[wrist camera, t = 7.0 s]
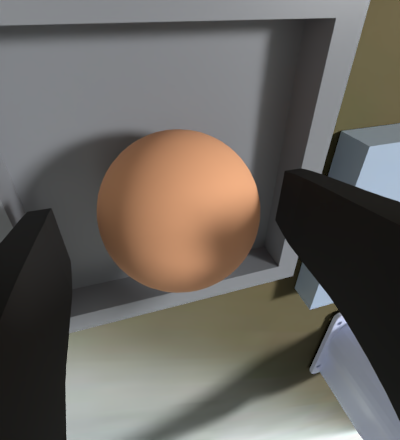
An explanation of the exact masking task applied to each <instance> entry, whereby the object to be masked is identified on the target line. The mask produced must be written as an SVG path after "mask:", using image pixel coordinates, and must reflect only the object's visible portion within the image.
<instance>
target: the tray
mask: <svg viewBox="0 0 400 440" xmlns="http://www.w3.org/2000/svg"><path fill="white" fill-rule="evenodd" d="M369 3H370V0H0V243H1V242H2V240H3V239H4V238H5V237H6V236H7V235H8V233H9V232H10V231H11V230H12V229H13V227H14V226H15V225H16V224H17V223H18V222H19V220H20V219H21V218H22V217H23V216H24V215H25V214H26V213H27V212H29V211H35V210H42V209H48V208H52V211H53V214H54V216H55V219H56V222H57V225H58V227H59V230H60V233H61V236H62V238H63V241H64V244H65V246H66V249H67V252H68V255H69V257H70V260H71V271H72V304H71V316H70V328H69V333H72V332H76V331H80V330H84V329H88V328H92V327H95V326H99V325H103V324H107V323H111V322H115V321H119V320H123V319H127V318H131V317H135V316H139V315H142V314H146V313H150V312H154V311H158V310H162V309H166V308H170V307H174V306H178V305H182V304H185V303H189V302H193V301H197V300H201V299H205V298H209V297H213V296H217V295H221V294H225V293H229V292H232V291H236V290H240V289H244V288H248V287H252V286H256V285H260V284H264V283H268V282H272V281H276V280H279V279H283V278H287V277H291V276H293V274H294V270H295V267H296V263H297V260H298V256H297V254H296V253H295V252H294V251H293V249H292V248H291V247H290V245H289V244H288V242H287V241H286V239H285V237H284V236H283V234H282V232H281V230H280V228H279V226H278V225H277V223H276V221H275V218H276V213H277V208H278V203H279V198H280V193H281V187H282V182H283V177H284V172H285V171H287V170H293V169H299V168H302V169H306V170H310V171H313V172H317V173H320V174H322V171H323V167H324V164H325V160H326V156H327V153H328V149H329V146H330V142H331V139H332V135H333V131H334V128H335V124H336V121H337V117H338V114H339V110H340V107H341V103H342V99H343V96H344V92H345V89H346V85H347V82H348V78H349V74H350V71H351V67H352V64H353V60H354V57H355V53H356V49H357V46H358V42H359V39H360V35H361V32H362V28H363V25H364V21H365V17H366V14H367V10H368V7H369ZM173 129H181V130H192V131H197V132H201V133H204V134H207V135H210V136H212V137H214V138H216V139H218V140H220V141H222V142H223V143H224V144H226V145H227V146H229V147H230V148H231V149H232V150H233V151H235V152H236V154H237V155H238V156H239V157H240V158H241V159H242V160H243V162H244V163H245V164H246V166H247V167H248V169H249V170H250V172H251V174H252V177H253V179H254V181H255V183H256V186H257V190H258V194H259V199H260V223H259V228H258V232H257V236H256V239H255V242H254V244H253V246H252V248H251V250H250V252H249V253H248V255H247V257H246V258H245V260H244V261H243V262H242V263H241V264H240V265H239V267H238V268H237V269H236V270H235V271H234V272H232V273H231V274H230V275H229V276H228V277H226V278H225V279H223V280H222V281H220V282H218V283H216V284H214V285H212V286H210V287H208V288H205V289H201V290H198V291H193V292H181V293H173V292H165V291H160V290H156V289H153V288H150V287H147V286H145V285H143V284H141V283H139V282H137V281H136V280H134V279H133V278H131V277H130V276H128V275H127V274H126V273H125V272H124V271H123V270H122V269H120V268H119V266H118V265H117V264H116V263H115V262H114V261H113V259H112V258H111V256H110V255H109V253H108V252H107V250H106V248H105V246H104V243H103V241H102V238H101V236H100V232H99V228H98V222H97V199H98V193H99V190H100V186H101V183H102V180H103V178H104V176H105V174H106V172H107V170H108V168H109V167H110V165H111V164H112V162H113V161H114V160H115V159H116V158H117V157H118V155H119V154H120V153H121V152H122V151H123V150H125V149H126V148H127V147H128V146H129V145H131V144H132V143H134V142H135V141H137V140H138V139H140V138H143V137H145V136H147V135H149V134H152V133H155V132H159V131H164V130H173Z"/></svg>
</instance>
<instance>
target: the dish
mask: <svg viewBox="0 0 400 440" xmlns="http://www.w3.org/2000/svg"><path fill="white" fill-rule="evenodd" d="M328 177H331V178H334V179H336V180H339V181H342V182H345V183H347V184H350V185H353V186H355V187H358V188H361V189H364V190H366V191H369V192H372V193H375V194H378V195H381V196H383V197H386V198H390V199H393V200H396V201H399V202H400V123H399V124H391V125H383V126H376V127H368V128H360V129H353V130H345V131H341V134H340V137H339V140H338V144H337V147H336V150H335V154H334V157H333V161H332V164H331V167H330V171H329V174H328ZM295 290H296V291H297V292H298V294H299V295H300V297H301V298H302V299H303V301H304V302H305V304H306V305H307V306H308V308H309V309H310V310H311V309H314V308H317V307H321V306H324V305H328V304H331V303H334V302H333V301H332V300H331V298H330V297H329V295H328V294H327V293H326V291H325V290H324V289H323V288H322V286H321V285H320V284H319V283H318V281H317V280H316V279H315V277H314V276H313V275H312V274H311V272H310V271H309V270H308V269H307V267H306V266H305V265H304V264H303V262H302V265H301V269H300V272H299V275H298V279H297V282H296V285H295Z"/></svg>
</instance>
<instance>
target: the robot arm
mask: <svg viewBox="0 0 400 440" xmlns="http://www.w3.org/2000/svg"><path fill="white" fill-rule="evenodd" d="M275 221H276V223H277V225H278V226H279V228H280V230H281V232H282V234H283V236H284V237H285V239H286V241H287V242H288V244H289V245H290V247H291V248H292V249H293V251H294V252H295V253H296V254H297V256H298V257H299V258H300V260H301V261H302V262H303V264H304V265H305V266H306V267H307V269H308V270H309V271H310V272H311V274H312V275H313V276H314V277H315V279H316V280H317V281H318V283H319V284H320V285H321V286H322V288H323V289H324V290H325V291H326V293H327V294H328V295H329V297H330V298H331V300H332V301H333V302H334V304H335V305H336V307H337V308H338V310H339V312H340V313H337V314H336V315H335V316H334V317H333V319H332V321H331V323H330V325H329V328H328V330H327V332H326V334H325V336H324V339H323V341H322V343H321V345H320V347H319V350H318V352H317V354H316V356H315V358H314V360H313V363H312V365H311V367H310V372H311V373H312V374H315V373H318V372H320V373H321V374H322V376H323V377H324V379H325V381H326V382H327V384H328V385H329V387H330V389H331V390H332V392H333V393H334V395H335V397H336V398H337V400H338V401H339V403H340V405H341V406H342V408H343V409H344V411H345V413H346V414H347V416H348V417H349V419H350V421H351V422H352V424H353V425H354V427H355V429H356V430H357V432H358V433H359V434H360V436H361V437H362V438H363V439H364V440H400V202H399V201H396V200H393V199H390V198H386V197H383V196H381V195H378V194H375V193H372V192H369V191H366V190H364V189H361V188H358V187H355V186H353V185H350V184H347V183H345V182H342V181H339V180H336V179H334V178H331V177H328V176H325V175H322V174H320V173H317V172H313V171H310V170H306V169H302V168H299V169H293V170H287V171H285V172H284V177H283V182H282V187H281V193H280V198H279V203H278V208H277V213H276V218H275ZM71 304H72V271H71V260H70V257H69V255H68V252H67V249H66V246H65V244H64V241H63V238H62V236H61V233H60V230H59V227H58V225H57V222H56V219H55V216H54V214H53V211H52V208H48V209H42V210H35V211H29V212H27V213H26V214H25V215H24V216H23V217H22V218H21V219H20V220H19V222H18V223H17V224H16V225H15V226H14V227H13V229H12V230H11V231H10V232H9V233H8V235H7V236H6V237H5V238H4V239H3V240H2V242H1V243H0V440H66V402H65V378H66V361H67V350H68V339H69V328H70V316H71Z"/></svg>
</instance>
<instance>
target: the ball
mask: <svg viewBox="0 0 400 440" xmlns="http://www.w3.org/2000/svg"><path fill="white" fill-rule="evenodd" d="M97 222H98V228H99V232H100V236H101V238H102V241H103V243H104V246H105V248H106V250H107V252H108V253H109V255H110V256H111V258H112V259H113V261H114V262H115V263H116V264H117V265H118V266H119V268H120V269H122V270H123V271H124V272H125V273H126V274H127V275H128V276H130V277H131V278H133V279H134V280H136V281H137V282H139V283H141V284H143V285H145V286H147V287H150V288H153V289H156V290H160V291H165V292H173V293H181V292H193V291H198V290H201V289H205V288H208V287H210V286H212V285H214V284H216V283H218V282H220V281H222V280H223V279H225V278H226V277H228V276H229V275H230V274H231V273H232V272H234V271H235V270H236V269H237V268H238V267H239V265H240V264H241V263H242V262H243V261H244V260H245V258H246V257H247V255H248V253H249V252H250V250H251V248H252V246H253V244H254V242H255V239H256V236H257V232H258V228H259V223H260V199H259V194H258V190H257V186H256V183H255V181H254V179H253V177H252V174H251V172H250V170H249V169H248V167H247V166H246V164H245V163H244V162H243V160H242V159H241V158H240V157H239V156H238V155H237V154H236V152H235V151H233V150H232V149H231V148H230V147H229V146H227V145H226V144H224V143H223V142H222V141H220V140H218V139H216V138H214V137H212V136H210V135H207V134H204V133H201V132H197V131H192V130H181V129H173V130H164V131H159V132H155V133H152V134H149V135H147V136H145V137H143V138H140V139H138V140H137V141H135V142H134V143H132V144H131V145H129V146H128V147H127V148H126V149H125V150H123V151H122V152H121V153H120V154H119V155H118V157H117V158H116V159H115V160H114V161H113V162H112V164H111V165H110V167H109V168H108V170H107V172H106V174H105V176H104V178H103V180H102V183H101V186H100V190H99V193H98V199H97Z"/></svg>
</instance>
